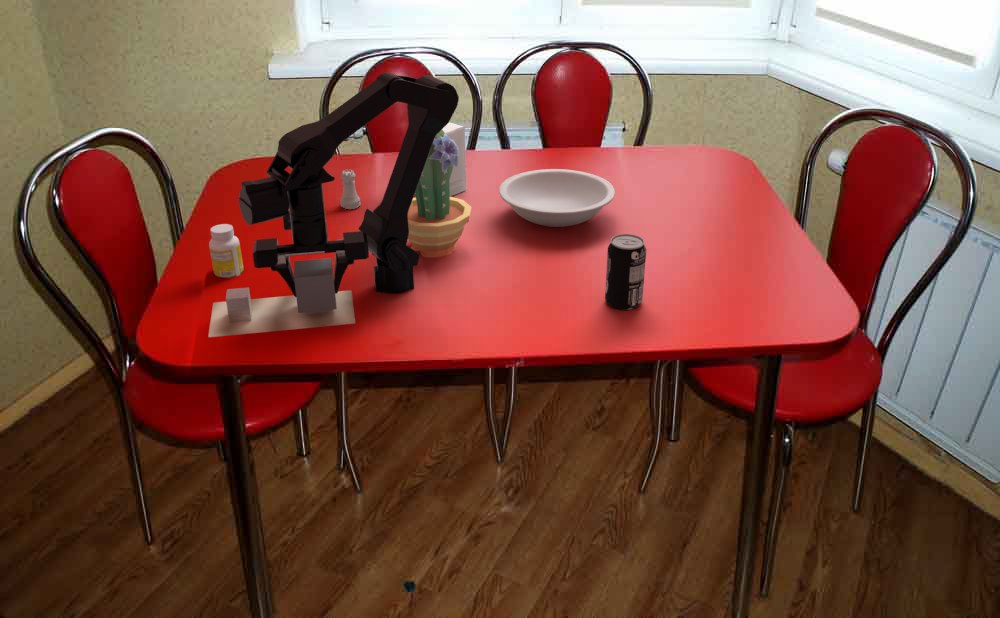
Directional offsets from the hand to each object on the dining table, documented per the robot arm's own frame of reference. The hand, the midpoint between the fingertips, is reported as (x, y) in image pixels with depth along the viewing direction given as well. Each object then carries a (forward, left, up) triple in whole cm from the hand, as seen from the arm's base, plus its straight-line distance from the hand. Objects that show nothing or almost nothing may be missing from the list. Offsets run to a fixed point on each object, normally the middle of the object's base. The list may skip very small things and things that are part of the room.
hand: (316, 294), depth 164 cm
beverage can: (-53, +6, -4) cm, 54 cm away
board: (+6, 0, -4) cm, 7 cm away
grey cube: (0, 0, -4) cm, 4 cm away
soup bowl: (-50, -32, -4) cm, 60 cm away
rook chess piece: (-8, -47, -4) cm, 48 cm away
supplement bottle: (+16, -18, -4) cm, 24 cm away
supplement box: (-28, -52, -4) cm, 59 cm away
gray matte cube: (0, 0, -2) cm, 2 cm away
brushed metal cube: (+13, 0, -4) cm, 14 cm away
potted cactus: (-23, -23, -4) cm, 33 cm away
